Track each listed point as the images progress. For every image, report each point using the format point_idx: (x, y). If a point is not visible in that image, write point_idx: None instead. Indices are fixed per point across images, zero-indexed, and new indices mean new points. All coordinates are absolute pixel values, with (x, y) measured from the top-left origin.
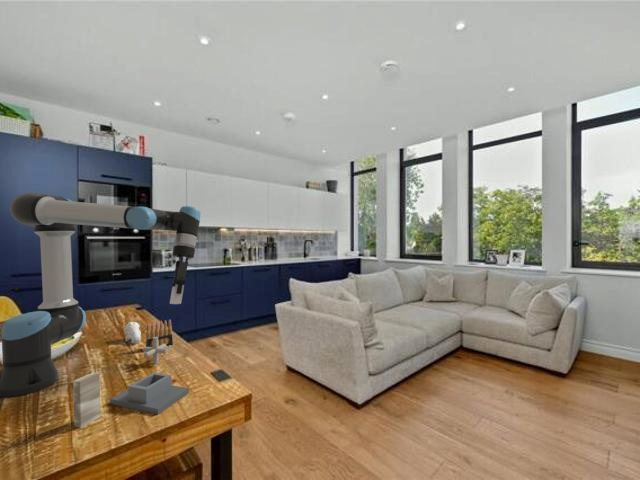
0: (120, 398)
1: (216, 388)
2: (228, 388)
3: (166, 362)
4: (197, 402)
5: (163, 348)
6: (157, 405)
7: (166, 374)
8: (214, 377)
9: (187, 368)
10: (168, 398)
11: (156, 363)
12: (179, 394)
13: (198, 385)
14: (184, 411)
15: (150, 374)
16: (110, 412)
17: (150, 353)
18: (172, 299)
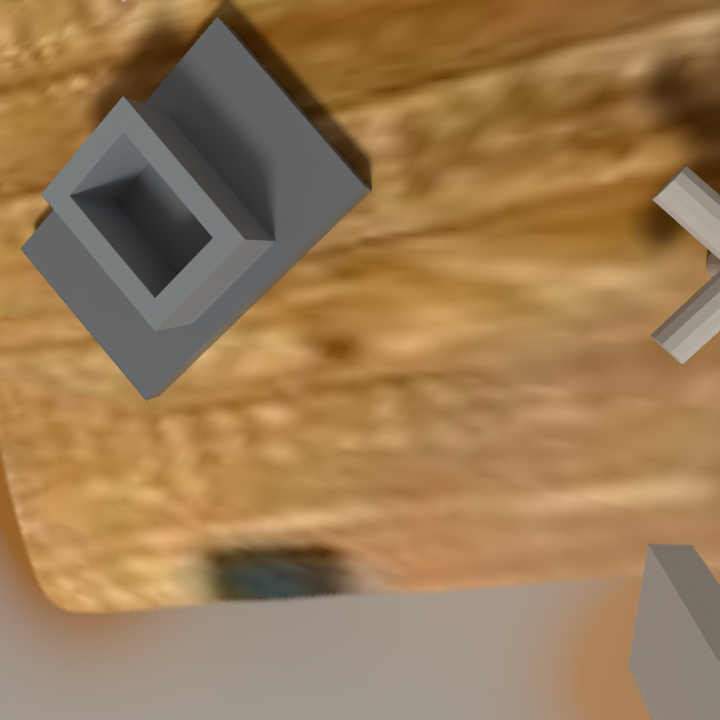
0: (196, 71)
1: (144, 518)
2: (119, 563)
3: None
4: (62, 412)
5: (694, 328)
6: (51, 247)
7: (176, 305)
8: (264, 546)
9: (477, 447)
10: (89, 298)
11: (707, 267)
12: (105, 349)
13: (215, 452)
14: (17, 350)
15: (222, 216)
16: (145, 42)
17: (678, 219)
18: (680, 645)
